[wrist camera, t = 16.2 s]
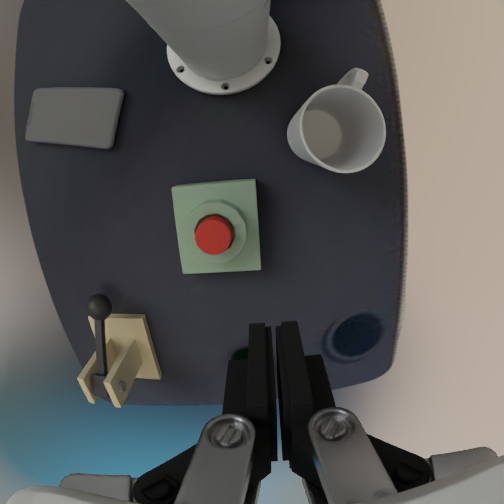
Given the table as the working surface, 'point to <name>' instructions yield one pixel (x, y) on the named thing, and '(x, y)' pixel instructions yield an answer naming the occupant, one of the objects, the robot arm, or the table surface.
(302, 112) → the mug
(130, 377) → the lever bracket
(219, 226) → the button
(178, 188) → the control block
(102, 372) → the ball knob handle
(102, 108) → the smartphone
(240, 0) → the robot arm
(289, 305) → the table surface
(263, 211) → the table surface
